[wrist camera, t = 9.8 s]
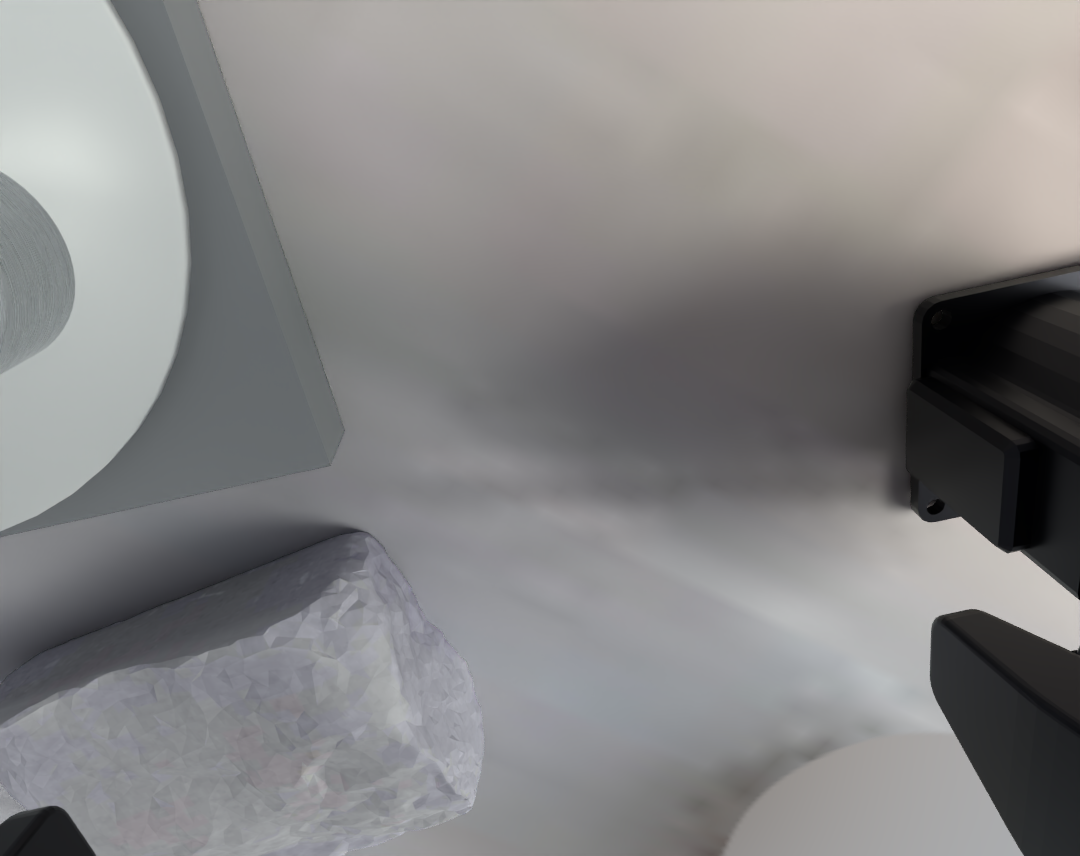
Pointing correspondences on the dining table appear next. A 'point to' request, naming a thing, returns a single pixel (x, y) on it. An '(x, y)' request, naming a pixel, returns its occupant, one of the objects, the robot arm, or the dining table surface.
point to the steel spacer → (30, 276)
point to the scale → (147, 274)
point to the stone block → (252, 716)
